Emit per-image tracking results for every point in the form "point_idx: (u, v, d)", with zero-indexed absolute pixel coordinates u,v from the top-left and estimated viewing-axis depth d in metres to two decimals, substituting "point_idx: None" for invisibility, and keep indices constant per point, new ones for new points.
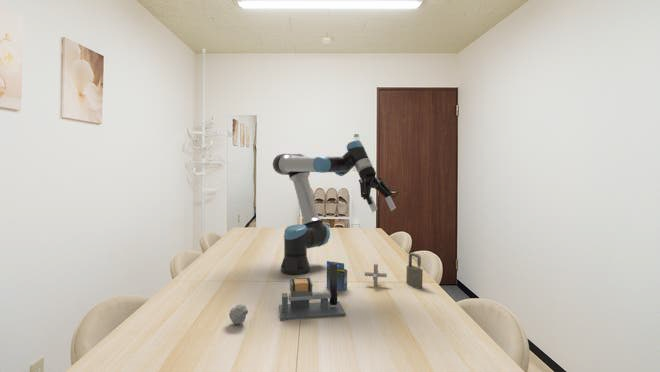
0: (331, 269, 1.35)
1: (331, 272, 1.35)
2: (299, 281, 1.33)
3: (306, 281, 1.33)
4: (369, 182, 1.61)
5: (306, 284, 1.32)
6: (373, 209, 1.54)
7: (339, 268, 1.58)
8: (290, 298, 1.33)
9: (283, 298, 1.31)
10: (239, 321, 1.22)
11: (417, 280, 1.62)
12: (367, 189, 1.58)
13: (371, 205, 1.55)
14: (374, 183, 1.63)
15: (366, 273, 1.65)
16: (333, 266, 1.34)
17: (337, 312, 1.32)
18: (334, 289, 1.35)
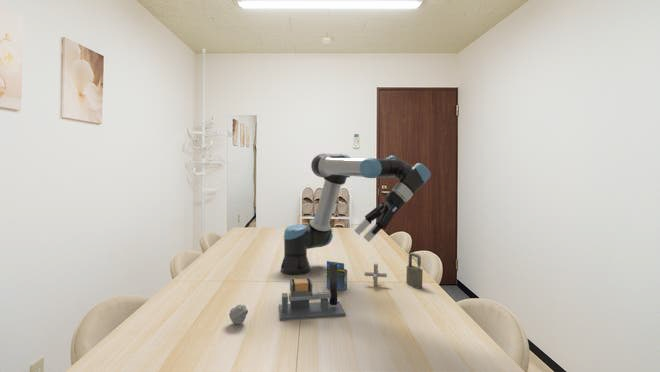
0: (331, 269, 1.35)
1: (331, 272, 1.35)
2: (299, 281, 1.33)
3: (306, 281, 1.33)
4: None
5: (306, 284, 1.32)
6: (367, 237, 1.30)
7: (339, 268, 1.58)
8: (290, 298, 1.33)
9: (283, 298, 1.31)
10: (239, 321, 1.22)
11: (417, 280, 1.62)
12: None
13: (370, 233, 1.31)
14: None
15: (366, 273, 1.65)
16: (333, 266, 1.34)
17: (337, 312, 1.32)
18: (334, 289, 1.35)
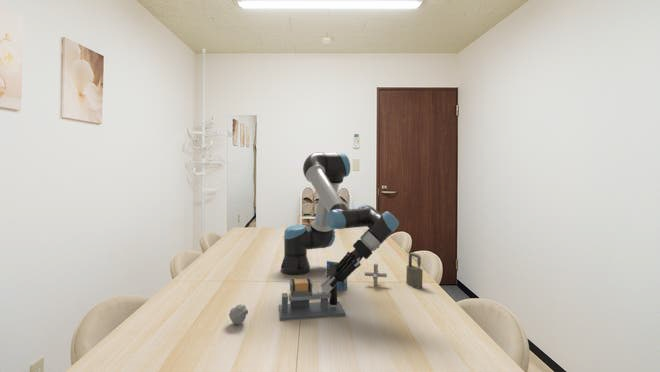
0: (331, 269, 1.35)
1: (331, 272, 1.35)
2: (299, 281, 1.33)
3: (306, 281, 1.33)
4: None
5: (306, 284, 1.32)
6: (325, 290, 1.34)
7: None
8: (290, 298, 1.33)
9: (283, 298, 1.31)
10: (239, 321, 1.22)
11: (417, 280, 1.62)
12: None
13: (329, 286, 1.34)
14: None
15: (366, 273, 1.65)
16: (333, 266, 1.34)
17: (337, 312, 1.32)
18: (334, 289, 1.35)
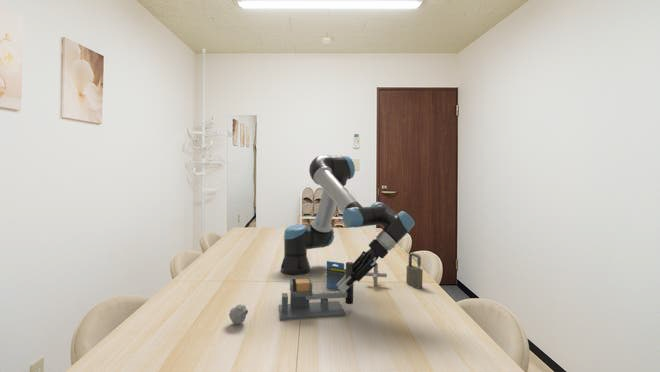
0: (347, 268, 1.36)
1: (347, 271, 1.36)
2: (301, 281, 1.34)
3: (308, 281, 1.33)
4: None
5: (308, 284, 1.32)
6: (341, 289, 1.35)
7: (339, 268, 1.58)
8: (307, 297, 1.34)
9: (283, 298, 1.31)
10: (239, 321, 1.22)
11: (417, 280, 1.62)
12: None
13: (345, 285, 1.35)
14: None
15: None
16: (349, 265, 1.36)
17: (337, 312, 1.32)
18: (350, 288, 1.36)
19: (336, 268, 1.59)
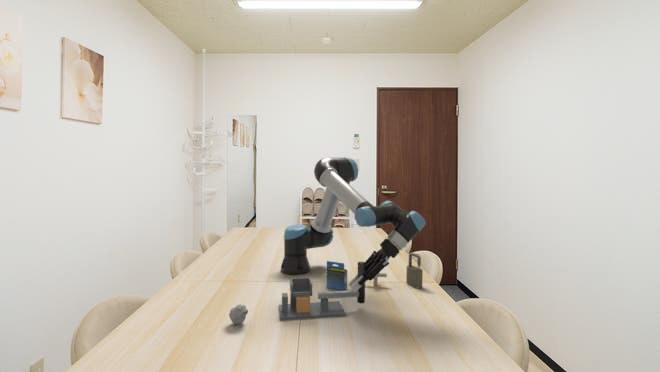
0: (359, 268, 1.37)
1: (359, 271, 1.37)
2: (301, 297, 1.34)
3: (308, 297, 1.34)
4: None
5: (308, 300, 1.32)
6: (353, 288, 1.36)
7: (339, 268, 1.58)
8: (319, 296, 1.35)
9: (283, 298, 1.31)
10: (239, 321, 1.22)
11: (417, 280, 1.62)
12: None
13: (357, 284, 1.36)
14: None
15: None
16: (361, 265, 1.36)
17: (337, 312, 1.32)
18: (362, 287, 1.37)
19: (336, 268, 1.59)
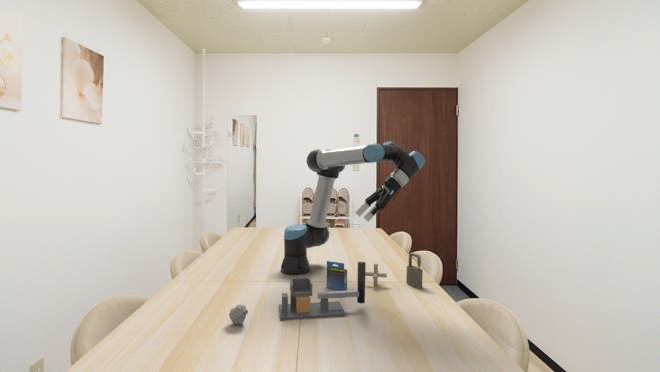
0: (359, 268, 1.37)
1: (359, 271, 1.37)
2: (301, 297, 1.34)
3: (308, 297, 1.34)
4: None
5: (308, 300, 1.32)
6: (366, 217, 1.44)
7: (339, 268, 1.58)
8: (319, 296, 1.35)
9: (283, 298, 1.31)
10: (239, 321, 1.22)
11: (417, 280, 1.62)
12: None
13: (370, 214, 1.44)
14: None
15: (366, 273, 1.65)
16: (361, 265, 1.36)
17: (337, 312, 1.32)
18: (362, 287, 1.37)
19: (336, 268, 1.59)
